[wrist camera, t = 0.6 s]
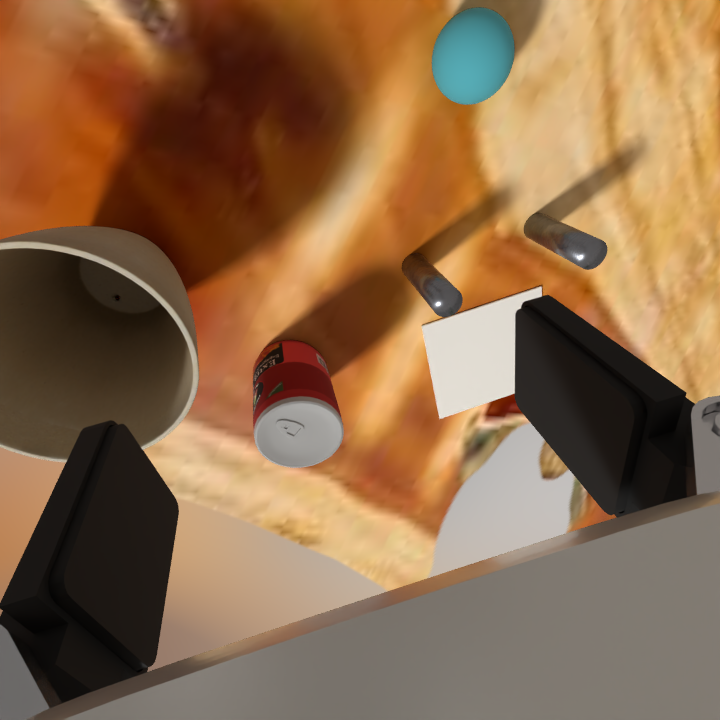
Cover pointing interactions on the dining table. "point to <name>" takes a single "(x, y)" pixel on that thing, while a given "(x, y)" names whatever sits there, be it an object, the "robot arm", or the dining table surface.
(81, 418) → the plant pot
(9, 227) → the dining table surface
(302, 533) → the dining table surface
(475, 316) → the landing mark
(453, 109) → the dining table surface
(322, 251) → the dining table surface
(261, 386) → the canned food
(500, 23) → the teal sphere
